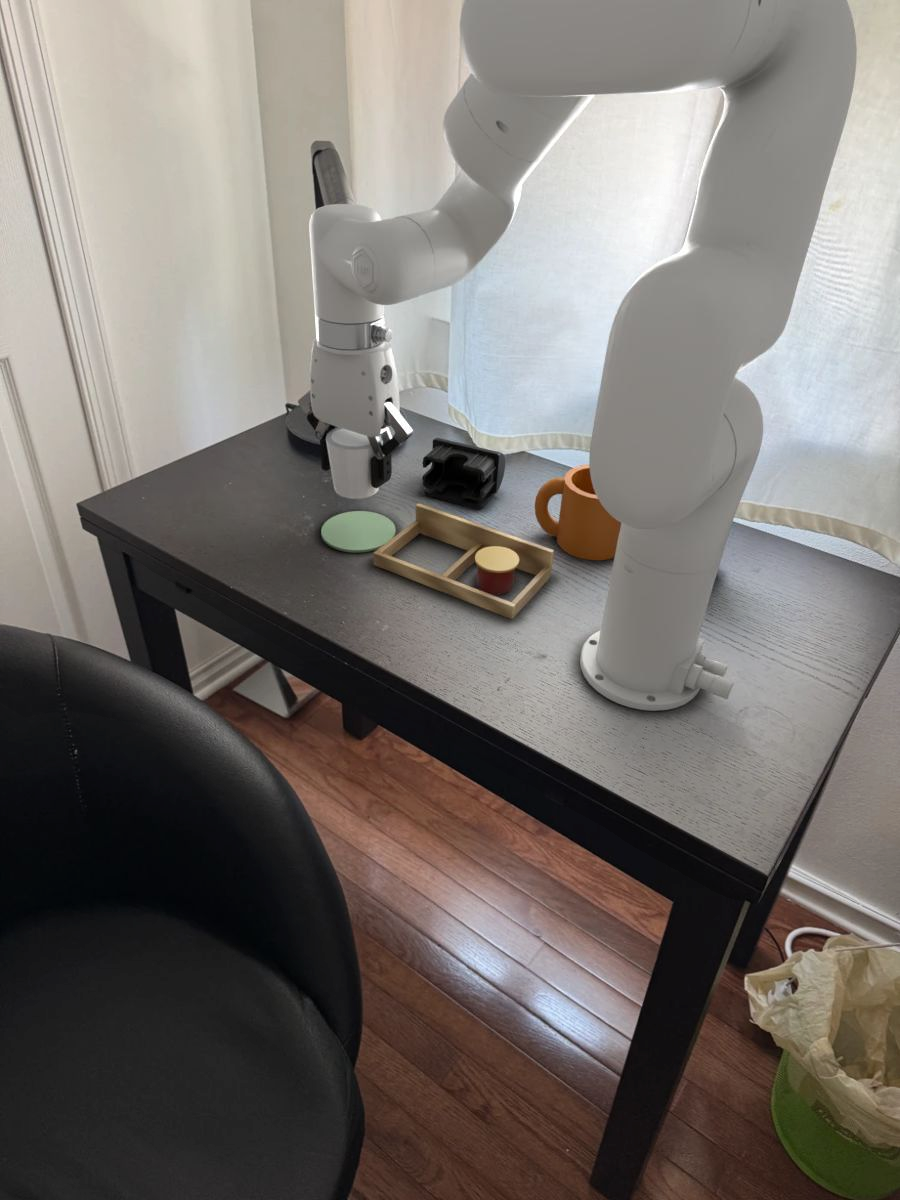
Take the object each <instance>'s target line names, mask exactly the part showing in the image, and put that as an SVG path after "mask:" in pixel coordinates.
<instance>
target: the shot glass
mask: <svg viewBox="0 0 900 1200" xmlns="http://www.w3.org/2000/svg"><path fill="white" fill-rule="evenodd" d="M378 437H379V439H380V442H381V444H382V445H384V443H383V441H382V438H381V436H380V435H379V436H378ZM326 443H327V449H328V455H329V462H330V468H331V469H330V474H331V479H332V485H333V490H334V492H335V493H336V494H337V495H338V496H340V497H342V498H345V499H349V500H350V499H351V500H354V499H355V500H361V499H365V498H366V499H367V498H370V497H372V496H374V495H375V494H377V493H378V492H379V490H380V487H378V488H374V487H372V485H371V458H372V457H373V456H375V455H374V452H373V450H372V447H371V445H370V443H369V440H368V438H367V436H365V435H362V434H358V433H355V432H352V431H349V430H346V429H342V428H339V427H337V428H336V429H333V430H331V431H330V432H329V433H327V436H326Z"/></svg>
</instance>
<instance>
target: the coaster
mask: <svg viewBox="0 0 900 1200" xmlns="http://www.w3.org/2000/svg"><path fill="white" fill-rule="evenodd" d="M320 532H321V533H320V535H321V539H322V540H323V542H324V543H325V544H327V546H329V547H331V548H333V549H335V550H338V551H341V552H345V553H353V554H355V553H356V554H358V553H370V552H375V551H377V550H378V549H379V548H380V547H382V546H383V545H384V544H386V543H387V542H388V541H390V540H391V539H392V538H393V537H395V536H396V535H397V534H396V532H397V531H396V526H395V523H394V522H393V521H392V520H391V519H390V518H389V517H387V516H385V515H383V514H380V513H377V512H373V511H368V510H351V511H346V512H341V513H339V514H336V515H333V516H331V517H330V518H329V519H327V520H326V521H324V523H323V525H322V526H321V530H320Z"/></svg>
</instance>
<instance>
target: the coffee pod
mask: <svg viewBox="0 0 900 1200" xmlns="http://www.w3.org/2000/svg"><path fill="white" fill-rule="evenodd" d="M474 563H475V564H476V566H477V570H476V586H477V587H478V589H479V590H480V591H483V592H486V593H488V594H491V595H503V594H507V593H509V592H510V591H511V590H512V589H513V587H514V583H515V573H516V569H517V568H516V567H517V566H518V564H519V557H518V555H517V554H516V553H515V552H514V551H512V550H511V549H508V548H505V547H500V546H490V547H485V548H483V549H481V550H479V551H478V552H477V553H476V555H475V562H474Z"/></svg>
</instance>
